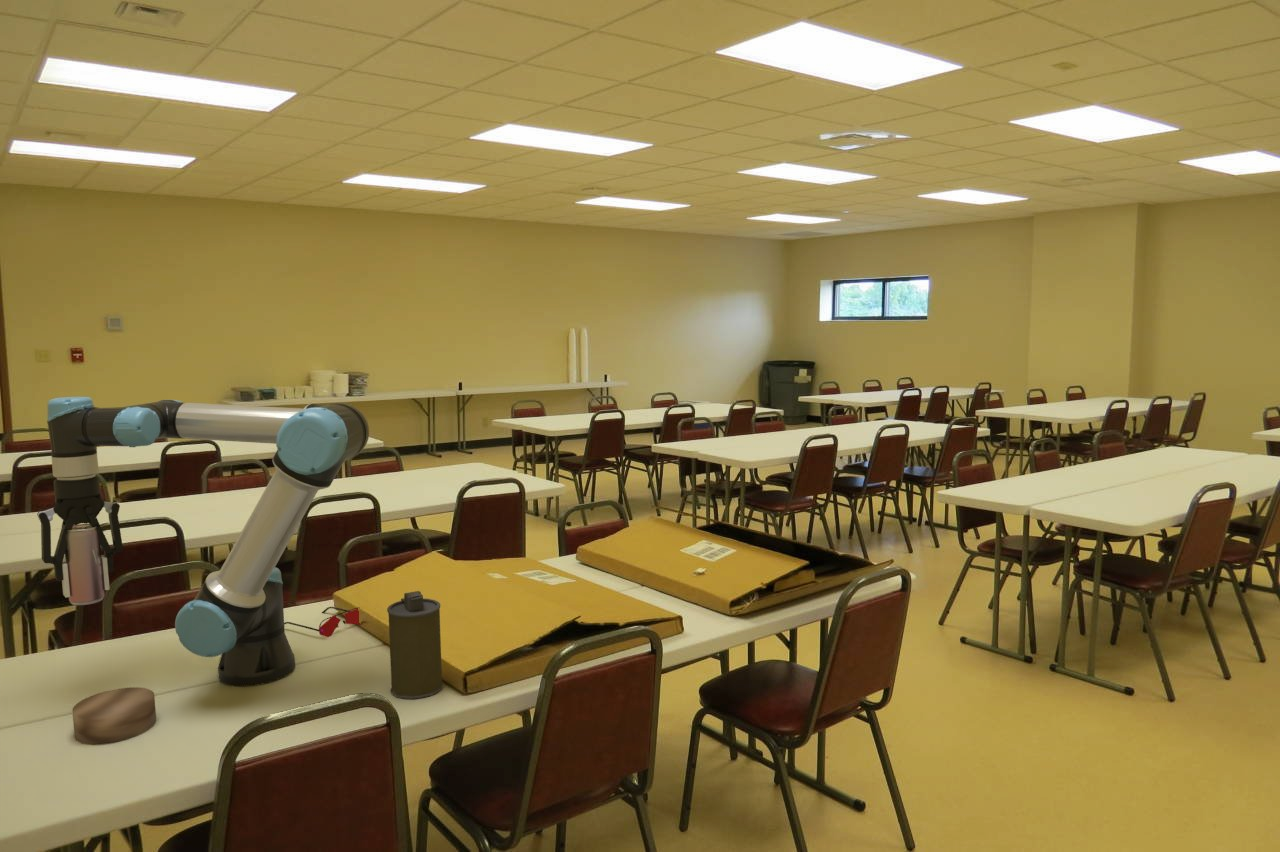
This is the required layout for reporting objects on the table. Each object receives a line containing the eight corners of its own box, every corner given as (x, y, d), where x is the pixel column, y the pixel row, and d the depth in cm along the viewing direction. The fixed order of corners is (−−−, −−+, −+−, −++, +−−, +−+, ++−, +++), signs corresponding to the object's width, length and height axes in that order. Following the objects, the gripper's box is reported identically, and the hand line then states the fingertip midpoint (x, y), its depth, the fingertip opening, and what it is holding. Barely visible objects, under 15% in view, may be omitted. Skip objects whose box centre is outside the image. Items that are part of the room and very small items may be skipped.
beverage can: (79, 596, 176) (73, 523, 174) (110, 595, 176) (104, 522, 174) (62, 606, 170) (55, 530, 168) (94, 605, 170) (88, 530, 168)
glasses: (321, 642, 206) (320, 621, 205) (276, 630, 214) (275, 610, 213) (367, 624, 217) (366, 605, 217) (322, 613, 226) (321, 595, 225)
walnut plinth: (171, 713, 168) (169, 688, 167) (123, 746, 155) (121, 719, 154) (109, 710, 169) (107, 685, 169) (56, 742, 156) (54, 715, 156)
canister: (450, 692, 177) (446, 596, 174) (398, 703, 171) (394, 605, 169) (433, 673, 186) (430, 582, 184) (384, 684, 181) (380, 590, 178)
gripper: (127, 468, 179) (136, 578, 182) (14, 480, 166) (25, 598, 169) (135, 472, 173) (144, 586, 176) (19, 485, 161) (31, 607, 164)
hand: (86, 591), depth 173 cm, fingers closed on beverage can, 6 cm apart
